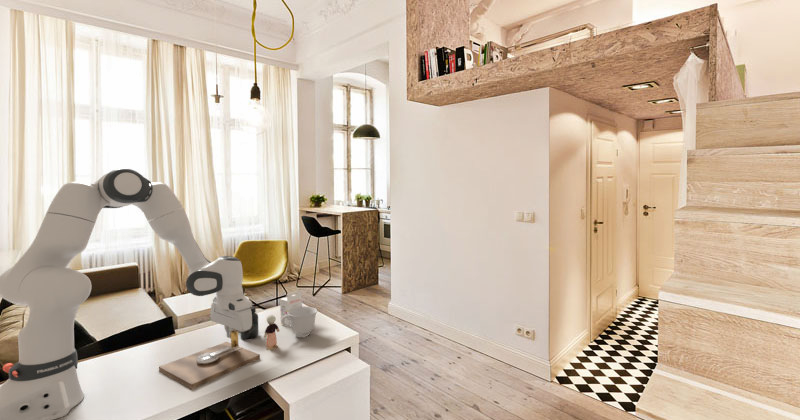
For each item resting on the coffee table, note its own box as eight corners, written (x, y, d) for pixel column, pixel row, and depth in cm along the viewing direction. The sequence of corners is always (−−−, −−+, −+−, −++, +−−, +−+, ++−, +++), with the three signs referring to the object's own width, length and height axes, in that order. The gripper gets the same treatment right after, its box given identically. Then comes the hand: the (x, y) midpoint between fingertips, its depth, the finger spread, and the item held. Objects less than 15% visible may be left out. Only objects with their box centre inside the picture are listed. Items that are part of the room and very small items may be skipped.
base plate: (191, 389, 112) (191, 383, 112) (159, 371, 123) (158, 366, 123) (259, 358, 132) (259, 354, 132) (226, 345, 143) (226, 341, 143)
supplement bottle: (238, 336, 152) (237, 307, 151) (255, 332, 156) (255, 304, 156) (243, 341, 147) (242, 311, 146) (260, 337, 151) (260, 308, 150)
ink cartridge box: (295, 319, 172) (294, 287, 171) (302, 321, 170) (302, 289, 169) (280, 324, 165) (279, 292, 164) (287, 327, 162) (287, 293, 161)
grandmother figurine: (272, 343, 145) (271, 311, 145) (281, 344, 145) (280, 312, 144) (260, 351, 138) (260, 318, 137) (270, 352, 137) (269, 319, 136)
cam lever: (203, 366, 122) (203, 347, 122) (192, 361, 126) (191, 342, 126) (242, 350, 135) (242, 332, 134) (230, 345, 138) (230, 328, 138)
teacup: (276, 335, 153) (275, 311, 152) (309, 327, 162) (309, 304, 162) (288, 345, 144) (288, 320, 143) (322, 335, 153) (322, 311, 153)
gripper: (205, 297, 139) (206, 333, 139) (239, 307, 128) (239, 347, 129) (221, 293, 144) (221, 328, 145) (255, 303, 133) (255, 340, 134)
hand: (230, 337), depth 137 cm, fingers closed
